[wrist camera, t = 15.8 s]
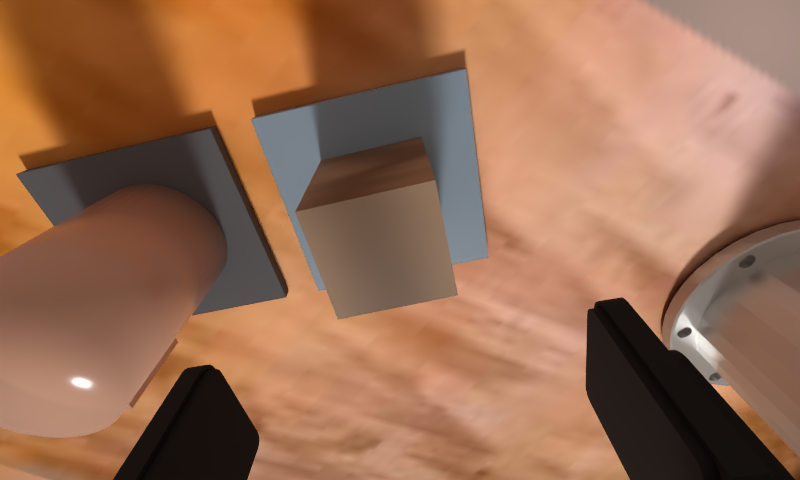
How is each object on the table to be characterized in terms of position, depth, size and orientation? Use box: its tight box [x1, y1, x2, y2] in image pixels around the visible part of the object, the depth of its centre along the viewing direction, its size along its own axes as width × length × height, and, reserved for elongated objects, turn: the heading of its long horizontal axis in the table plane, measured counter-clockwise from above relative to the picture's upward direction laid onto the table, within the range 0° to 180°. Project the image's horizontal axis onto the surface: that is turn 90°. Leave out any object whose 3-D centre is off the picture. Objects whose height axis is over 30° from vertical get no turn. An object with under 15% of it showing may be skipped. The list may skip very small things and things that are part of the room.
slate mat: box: [251, 68, 488, 291], centre depth 20 cm, size 10×10×1 cm
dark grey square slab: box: [16, 126, 288, 315], centre depth 21 cm, size 10×10×1 cm
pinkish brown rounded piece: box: [0, 184, 227, 438], centre depth 17 cm, size 7×8×9 cm
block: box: [295, 137, 458, 319], centre depth 17 cm, size 5×5×6 cm
